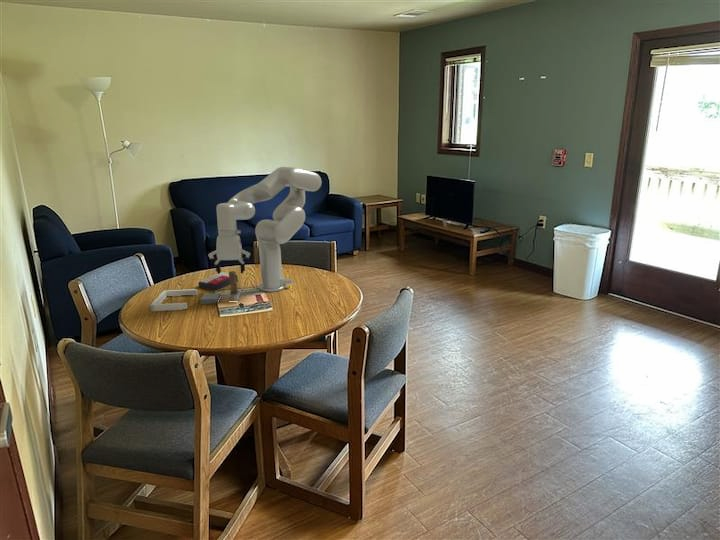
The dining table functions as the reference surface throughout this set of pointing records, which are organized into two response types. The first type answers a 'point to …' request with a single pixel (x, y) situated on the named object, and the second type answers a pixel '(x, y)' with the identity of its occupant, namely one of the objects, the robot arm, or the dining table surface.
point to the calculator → (216, 281)
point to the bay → (171, 306)
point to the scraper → (233, 287)
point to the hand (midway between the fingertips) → (230, 272)
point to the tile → (210, 298)
